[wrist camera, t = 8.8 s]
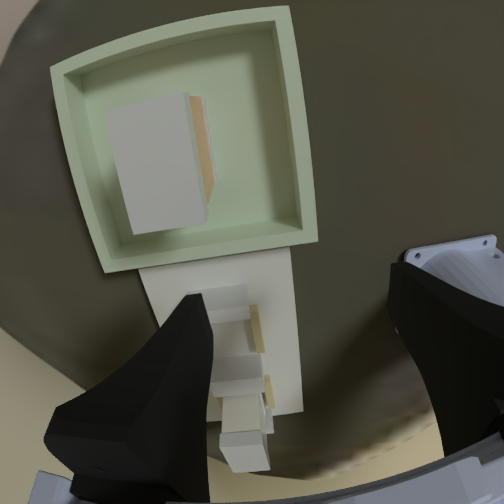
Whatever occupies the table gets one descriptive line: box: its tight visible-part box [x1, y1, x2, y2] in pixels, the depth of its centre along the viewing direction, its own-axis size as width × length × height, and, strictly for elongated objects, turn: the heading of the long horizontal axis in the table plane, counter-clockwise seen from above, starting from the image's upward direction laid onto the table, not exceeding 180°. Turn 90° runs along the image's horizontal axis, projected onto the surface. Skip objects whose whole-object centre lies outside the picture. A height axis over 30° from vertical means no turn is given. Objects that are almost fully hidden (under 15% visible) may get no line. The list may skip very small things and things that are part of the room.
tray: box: [50, 6, 318, 273], centre depth 16 cm, size 13×13×3 cm
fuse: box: [220, 393, 270, 473], centre depth 23 cm, size 3×5×7 cm, turn 9°
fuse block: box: [138, 246, 303, 434], centre depth 24 cm, size 10×18×4 cm, turn 9°
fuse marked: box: [105, 92, 218, 235], centre depth 14 cm, size 3×5×7 cm, turn 7°
